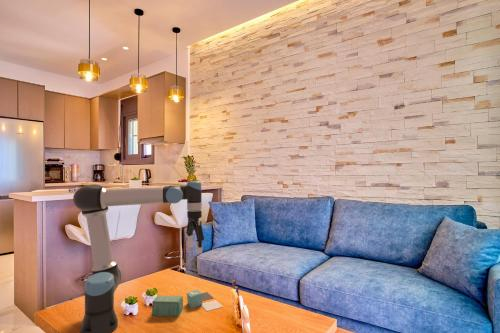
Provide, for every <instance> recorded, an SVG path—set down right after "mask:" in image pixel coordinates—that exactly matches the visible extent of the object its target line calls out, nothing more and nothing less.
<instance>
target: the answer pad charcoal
mask: <svg viewBox="0 0 500 333" xmlns="http://www.w3.org/2000/svg"><path fill="white" fill-rule="evenodd" d="M201 293H202V302H204V301H208V300H213V299H214V297H213V296H212V295H211V293H209V292H208V291H205V292H201Z"/></svg>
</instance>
